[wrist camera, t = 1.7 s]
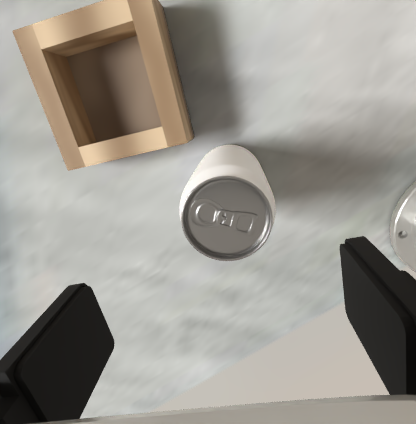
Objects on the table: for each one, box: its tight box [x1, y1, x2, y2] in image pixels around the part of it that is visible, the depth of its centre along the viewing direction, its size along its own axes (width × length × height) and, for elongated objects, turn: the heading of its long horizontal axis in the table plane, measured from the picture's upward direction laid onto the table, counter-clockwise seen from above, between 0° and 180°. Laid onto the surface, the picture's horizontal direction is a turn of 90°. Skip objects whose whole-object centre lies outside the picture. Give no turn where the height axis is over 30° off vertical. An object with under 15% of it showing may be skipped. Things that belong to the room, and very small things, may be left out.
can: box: [179, 145, 276, 261], centre depth 23 cm, size 6×6×12 cm
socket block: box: [13, 0, 194, 171], centre depth 25 cm, size 11×11×4 cm
